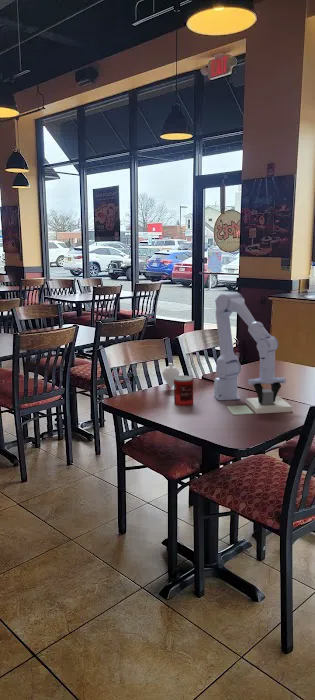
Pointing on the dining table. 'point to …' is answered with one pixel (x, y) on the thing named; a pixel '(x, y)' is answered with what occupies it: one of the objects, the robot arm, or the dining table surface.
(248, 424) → the dining table surface
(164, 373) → the spinning top
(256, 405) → the socket block
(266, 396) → the gray rectangular block
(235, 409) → the mat
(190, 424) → the dining table surface
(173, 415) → the dining table surface
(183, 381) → the canned food
